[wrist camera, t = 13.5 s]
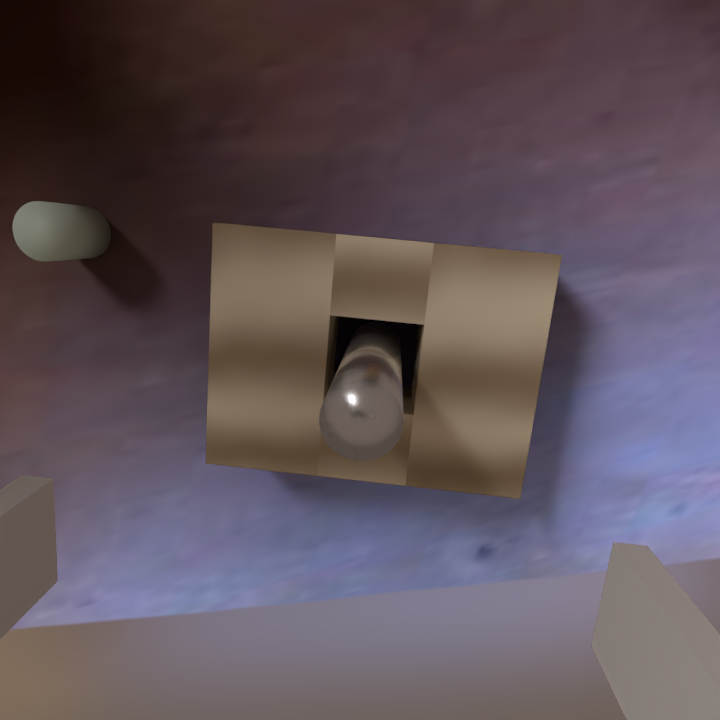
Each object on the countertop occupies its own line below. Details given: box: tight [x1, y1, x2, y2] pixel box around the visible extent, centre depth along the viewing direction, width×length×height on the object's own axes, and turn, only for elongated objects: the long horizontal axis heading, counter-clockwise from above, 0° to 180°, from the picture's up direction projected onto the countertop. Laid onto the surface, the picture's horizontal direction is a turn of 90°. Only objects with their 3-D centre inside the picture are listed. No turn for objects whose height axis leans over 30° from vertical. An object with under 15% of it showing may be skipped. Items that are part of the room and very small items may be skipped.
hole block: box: [206, 223, 562, 499], centre depth 36 cm, size 15×20×6 cm
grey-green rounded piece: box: [13, 201, 111, 262], centre depth 36 cm, size 4×4×5 cm
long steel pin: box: [319, 322, 404, 461], centre depth 31 cm, size 4×4×16 cm
